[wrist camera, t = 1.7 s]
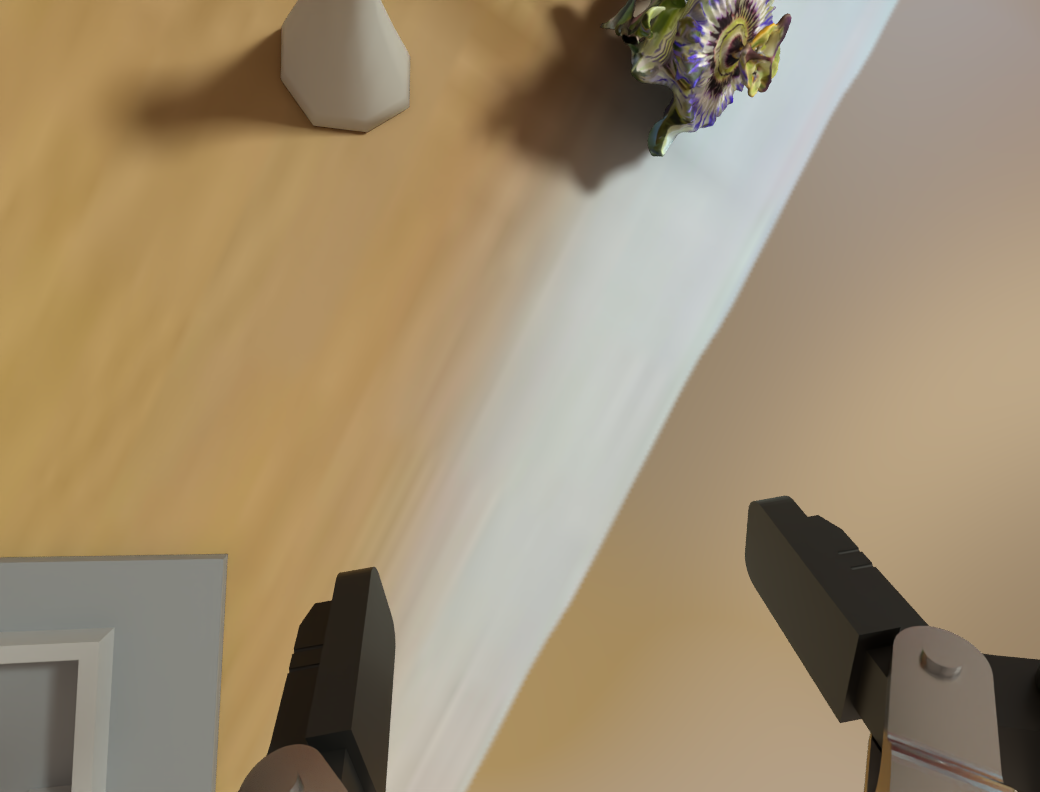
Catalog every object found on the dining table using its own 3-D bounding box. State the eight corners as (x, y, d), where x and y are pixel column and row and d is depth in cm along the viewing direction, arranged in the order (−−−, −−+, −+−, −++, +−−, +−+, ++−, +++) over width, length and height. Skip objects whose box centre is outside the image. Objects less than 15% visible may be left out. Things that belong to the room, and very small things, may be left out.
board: (-221, 891, 28) (-284, 944, 25) (-200, 560, 28) (-261, 578, 25) (212, 838, 32) (198, 878, 29) (227, 554, 32) (215, 568, 30)
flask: (428, 122, 35) (454, 17, 25) (302, 147, 33) (278, 45, 24) (390, -4, 35) (401, -159, 25) (259, 15, 33) (217, -144, 23)
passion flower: (648, 148, 45) (694, 197, 35) (535, 38, 40) (551, 59, 30) (773, 8, 40) (867, 18, 30) (661, -133, 36) (728, -175, 26)
